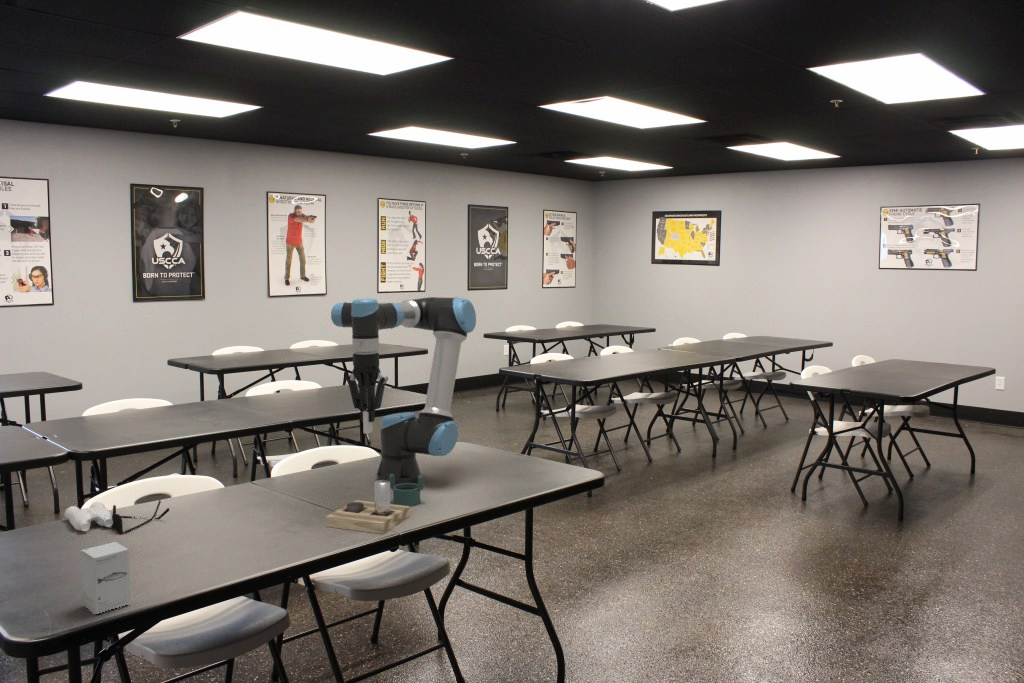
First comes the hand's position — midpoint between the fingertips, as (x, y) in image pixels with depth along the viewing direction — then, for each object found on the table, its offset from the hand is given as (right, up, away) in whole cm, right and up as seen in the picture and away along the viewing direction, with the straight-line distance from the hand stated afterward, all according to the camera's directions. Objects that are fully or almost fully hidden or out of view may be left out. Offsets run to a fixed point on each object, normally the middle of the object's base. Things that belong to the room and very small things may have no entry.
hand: (368, 432), depth 225 cm
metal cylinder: (+5, -25, -5) cm, 26 cm away
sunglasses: (-64, -26, -5) cm, 69 cm away
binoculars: (-77, -26, -6) cm, 82 cm away
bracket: (+9, -24, +15) cm, 30 cm away
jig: (+1, -25, -3) cm, 25 cm away
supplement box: (-45, -31, -59) cm, 80 cm away
